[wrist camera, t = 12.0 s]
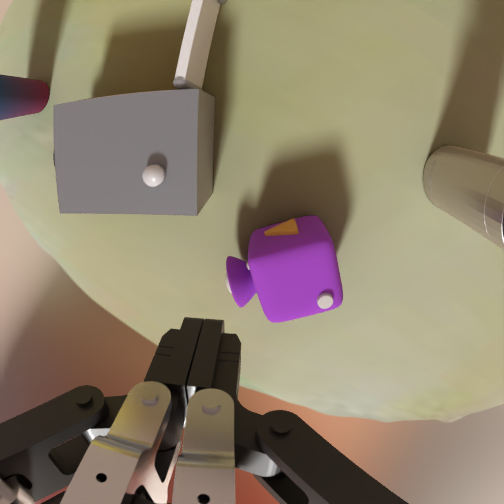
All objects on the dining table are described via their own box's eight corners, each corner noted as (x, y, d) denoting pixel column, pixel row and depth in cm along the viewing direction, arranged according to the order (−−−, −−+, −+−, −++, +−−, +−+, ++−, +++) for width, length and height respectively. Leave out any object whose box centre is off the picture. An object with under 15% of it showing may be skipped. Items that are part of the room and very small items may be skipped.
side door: (207, 96, 33) (192, 89, 26) (191, 94, 33) (172, 87, 26) (228, 1, 28) (219, -27, 21) (212, 0, 28) (199, -28, 21)
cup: (61, 90, 33) (-13, 89, 20) (37, 128, 35) (-36, 141, 22) (38, 67, 32) (-34, 61, 18) (16, 103, 34) (-55, 110, 20)
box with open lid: (215, 95, 34) (196, 85, 24) (212, 192, 39) (194, 218, 29) (88, 105, 35) (38, 105, 24) (91, 192, 39) (45, 216, 29)
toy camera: (215, 243, 42) (202, 278, 33) (310, 197, 39) (325, 221, 30) (253, 305, 45) (250, 350, 36) (341, 266, 43) (360, 306, 33)
